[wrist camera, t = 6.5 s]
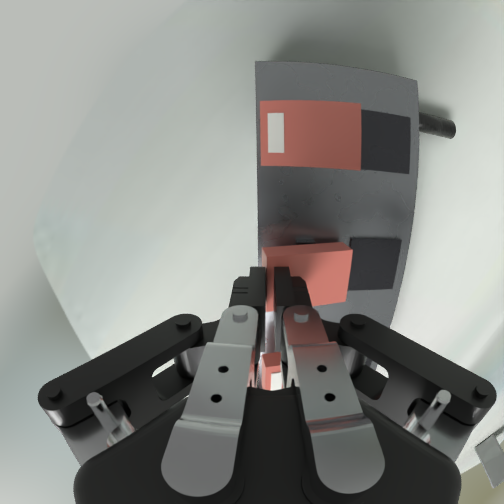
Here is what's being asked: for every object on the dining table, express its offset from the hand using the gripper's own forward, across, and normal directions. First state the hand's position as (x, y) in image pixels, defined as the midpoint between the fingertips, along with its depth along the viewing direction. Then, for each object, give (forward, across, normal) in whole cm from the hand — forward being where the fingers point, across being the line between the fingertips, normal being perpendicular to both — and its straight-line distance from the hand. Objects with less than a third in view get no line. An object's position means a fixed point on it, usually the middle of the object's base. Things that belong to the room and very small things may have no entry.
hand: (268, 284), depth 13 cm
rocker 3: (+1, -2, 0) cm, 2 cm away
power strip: (+6, -6, 0) cm, 9 cm away
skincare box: (+6, -60, +55) cm, 82 cm away
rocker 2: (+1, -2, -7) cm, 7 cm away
